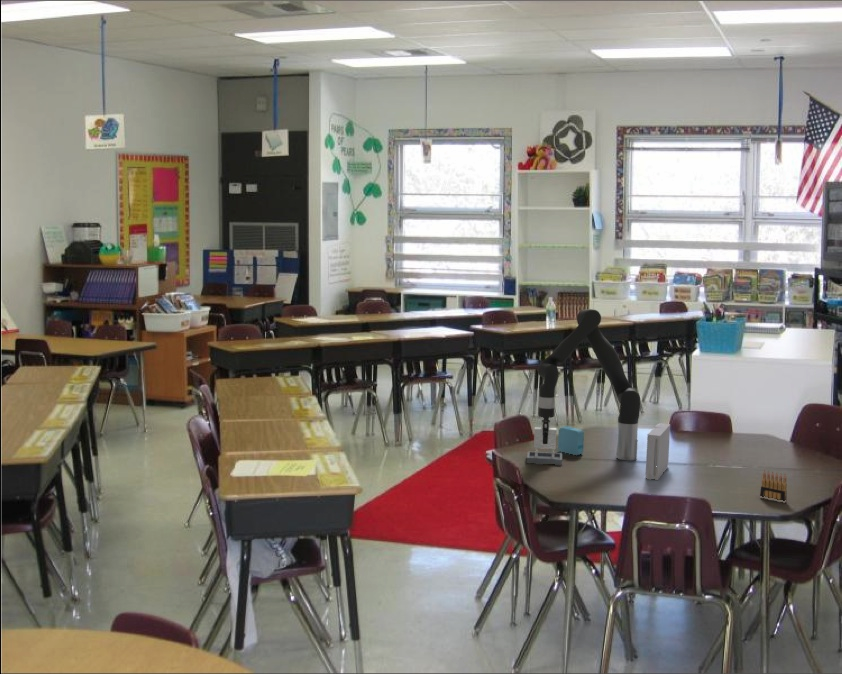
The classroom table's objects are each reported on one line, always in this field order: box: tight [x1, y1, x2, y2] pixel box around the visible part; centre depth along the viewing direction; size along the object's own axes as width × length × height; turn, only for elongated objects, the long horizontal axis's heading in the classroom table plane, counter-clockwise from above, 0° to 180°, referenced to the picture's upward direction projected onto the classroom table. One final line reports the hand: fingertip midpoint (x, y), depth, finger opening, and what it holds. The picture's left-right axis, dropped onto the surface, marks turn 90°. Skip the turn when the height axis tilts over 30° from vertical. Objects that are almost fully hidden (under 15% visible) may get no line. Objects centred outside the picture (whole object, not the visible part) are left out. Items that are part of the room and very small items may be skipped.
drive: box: [533, 426, 558, 450], centre depth 517 cm, size 10×4×9 cm, turn 83°
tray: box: [526, 449, 563, 466], centre depth 518 cm, size 16×13×4 cm
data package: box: [557, 426, 585, 456], centre depth 535 cm, size 12×4×12 cm, turn 43°
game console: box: [644, 422, 671, 481], centre depth 500 cm, size 6×27×20 cm, turn 158°
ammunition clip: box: [759, 469, 788, 501], centre depth 459 cm, size 11×2×12 cm, turn 49°
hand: (545, 442), depth 517 cm, fingers closed on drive, 4 cm apart
